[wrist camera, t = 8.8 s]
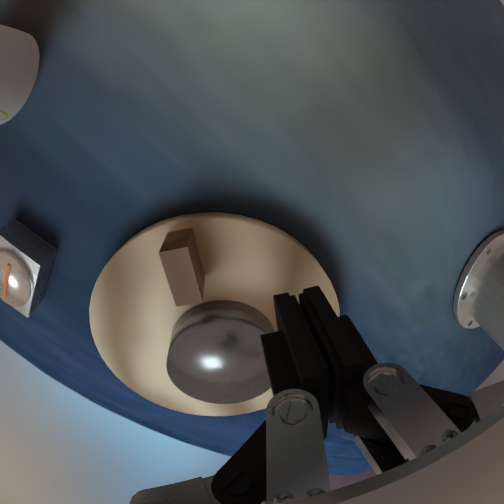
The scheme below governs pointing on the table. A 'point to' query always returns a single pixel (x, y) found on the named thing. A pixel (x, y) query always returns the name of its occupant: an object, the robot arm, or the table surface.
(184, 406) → the turntable
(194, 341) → the disc
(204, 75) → the table surface
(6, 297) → the dial gauge
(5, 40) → the cup
